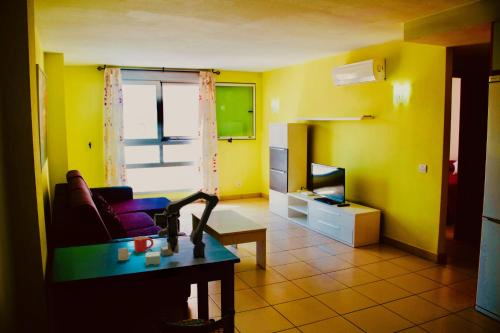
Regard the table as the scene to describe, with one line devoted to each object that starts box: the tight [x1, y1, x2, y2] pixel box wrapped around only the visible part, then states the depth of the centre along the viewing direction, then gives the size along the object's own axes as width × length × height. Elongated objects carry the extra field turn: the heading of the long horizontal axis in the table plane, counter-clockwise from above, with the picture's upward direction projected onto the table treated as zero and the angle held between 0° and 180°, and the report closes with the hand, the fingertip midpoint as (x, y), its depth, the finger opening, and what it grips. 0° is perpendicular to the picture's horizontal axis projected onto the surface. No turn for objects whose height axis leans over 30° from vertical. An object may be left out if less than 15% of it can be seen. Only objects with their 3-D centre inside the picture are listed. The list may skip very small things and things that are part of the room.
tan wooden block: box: [160, 245, 174, 257], centre depth 242 cm, size 6×6×4 cm
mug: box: [133, 236, 154, 253], centre depth 250 cm, size 8×12×8 cm, turn 107°
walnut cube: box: [167, 241, 180, 255], centre depth 229 cm, size 6×6×6 cm
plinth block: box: [144, 251, 161, 266], centre depth 227 cm, size 8×8×5 cm
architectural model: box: [117, 247, 132, 261], centre depth 233 cm, size 3×7×7 cm, turn 103°
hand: (173, 249), depth 229 cm, fingers closed on walnut cube, 6 cm apart
